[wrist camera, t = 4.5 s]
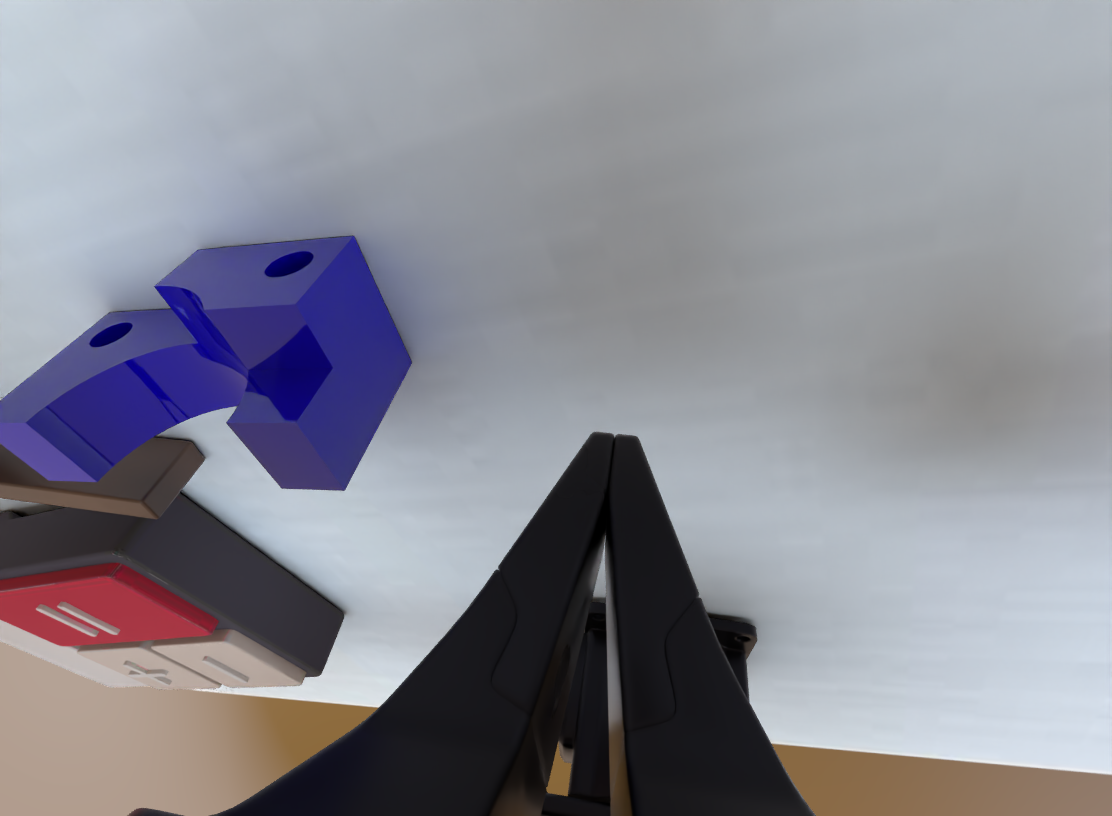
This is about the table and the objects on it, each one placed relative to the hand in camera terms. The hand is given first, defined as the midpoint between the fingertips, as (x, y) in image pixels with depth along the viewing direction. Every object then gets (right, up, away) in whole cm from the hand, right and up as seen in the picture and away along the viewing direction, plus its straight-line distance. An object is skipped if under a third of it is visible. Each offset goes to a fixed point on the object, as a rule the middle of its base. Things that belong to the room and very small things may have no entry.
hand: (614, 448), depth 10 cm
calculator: (-20, -7, +17) cm, 27 cm away
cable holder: (-9, +3, +4) cm, 10 cm away
